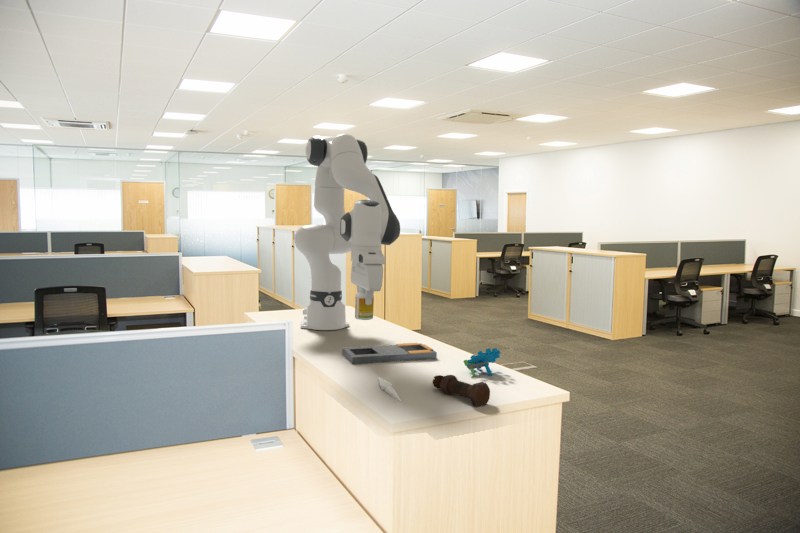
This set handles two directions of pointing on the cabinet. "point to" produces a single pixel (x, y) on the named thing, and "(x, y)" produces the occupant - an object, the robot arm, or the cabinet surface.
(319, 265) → the robot arm
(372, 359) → the gray and orange holder
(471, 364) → the blue lobed piece
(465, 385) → the bolt
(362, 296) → the supplement bottle
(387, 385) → the stone spearhead
